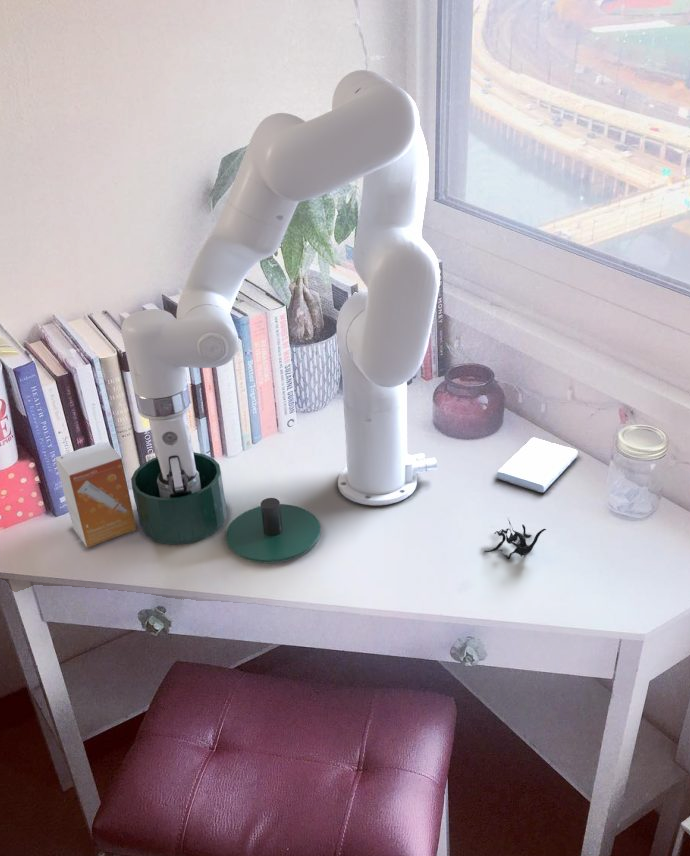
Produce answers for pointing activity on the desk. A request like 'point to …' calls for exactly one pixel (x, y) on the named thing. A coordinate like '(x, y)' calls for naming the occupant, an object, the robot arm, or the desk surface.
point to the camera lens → (165, 487)
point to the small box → (96, 493)
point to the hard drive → (537, 465)
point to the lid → (273, 532)
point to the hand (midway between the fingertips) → (182, 501)
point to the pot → (180, 504)
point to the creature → (522, 546)
